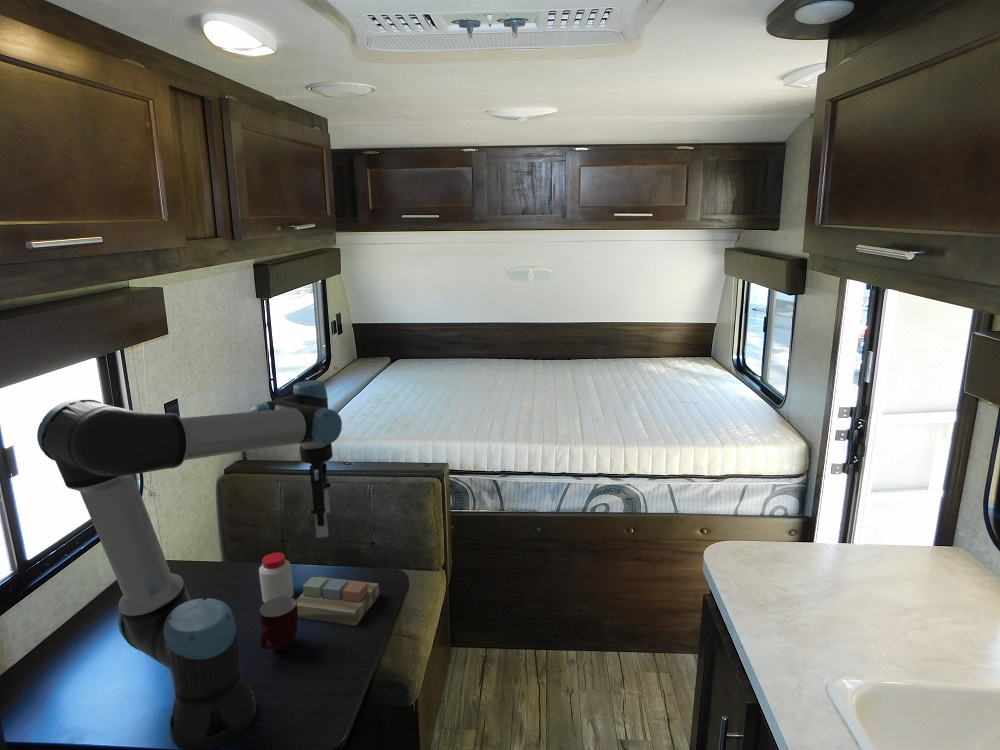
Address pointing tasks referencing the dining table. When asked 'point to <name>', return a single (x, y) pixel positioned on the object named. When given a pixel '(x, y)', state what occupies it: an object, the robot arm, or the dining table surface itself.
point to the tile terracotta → (355, 592)
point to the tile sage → (314, 587)
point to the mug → (278, 623)
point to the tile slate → (334, 589)
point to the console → (336, 607)
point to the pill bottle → (275, 577)
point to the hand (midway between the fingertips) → (323, 524)
